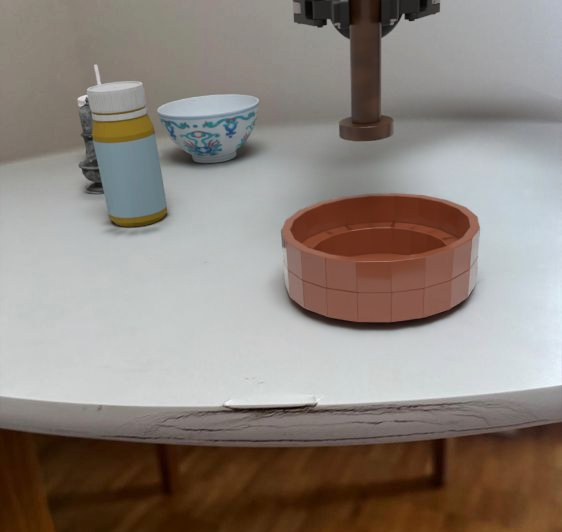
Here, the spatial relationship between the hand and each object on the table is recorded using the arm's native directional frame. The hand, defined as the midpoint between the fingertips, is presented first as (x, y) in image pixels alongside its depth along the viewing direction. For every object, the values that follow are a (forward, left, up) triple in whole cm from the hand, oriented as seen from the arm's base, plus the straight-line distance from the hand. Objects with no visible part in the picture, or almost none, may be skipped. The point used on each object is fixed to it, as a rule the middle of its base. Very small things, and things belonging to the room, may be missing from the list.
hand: (364, 11), depth 54 cm
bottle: (+22, -24, -22) cm, 40 cm away
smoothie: (+27, -54, -22) cm, 65 cm away
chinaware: (+11, -49, -22) cm, 55 cm away
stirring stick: (-1, -3, -10) cm, 10 cm away
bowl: (0, +4, -22) cm, 22 cm away
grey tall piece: (+27, -39, -22) cm, 53 cm away
